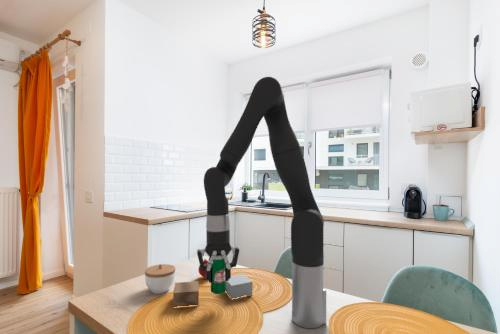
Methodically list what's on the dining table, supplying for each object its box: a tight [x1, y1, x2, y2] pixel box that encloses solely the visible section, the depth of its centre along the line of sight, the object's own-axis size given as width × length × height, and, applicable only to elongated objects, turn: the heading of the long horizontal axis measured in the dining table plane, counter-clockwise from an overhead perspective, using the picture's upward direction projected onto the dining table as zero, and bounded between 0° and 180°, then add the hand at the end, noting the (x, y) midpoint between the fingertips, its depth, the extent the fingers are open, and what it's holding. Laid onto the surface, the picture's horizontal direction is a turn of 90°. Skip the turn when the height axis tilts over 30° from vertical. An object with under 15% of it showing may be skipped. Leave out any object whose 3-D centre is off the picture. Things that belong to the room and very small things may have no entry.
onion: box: [198, 258, 208, 279], centre depth 109 cm, size 6×6×8 cm
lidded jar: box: [144, 263, 176, 295], centre depth 98 cm, size 11×11×9 cm
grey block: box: [226, 273, 253, 300], centre depth 96 cm, size 8×8×5 cm
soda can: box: [210, 255, 227, 295], centre depth 85 cm, size 5×5×12 cm
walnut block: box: [172, 280, 200, 308], centre depth 89 cm, size 8×8×5 cm
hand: (218, 280), depth 85 cm, fingers closed on soda can, 5 cm apart
